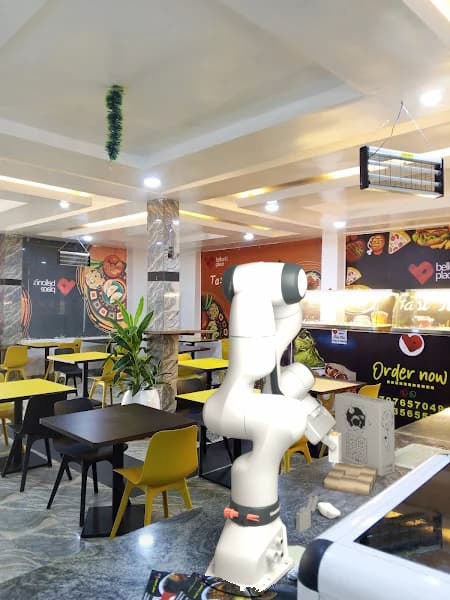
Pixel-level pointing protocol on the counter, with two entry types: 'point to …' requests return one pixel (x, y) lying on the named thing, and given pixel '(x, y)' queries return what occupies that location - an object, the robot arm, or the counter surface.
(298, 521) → the lighter
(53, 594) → the counter surface
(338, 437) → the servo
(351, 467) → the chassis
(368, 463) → the cereal box
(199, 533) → the counter surface
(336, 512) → the dumpling
